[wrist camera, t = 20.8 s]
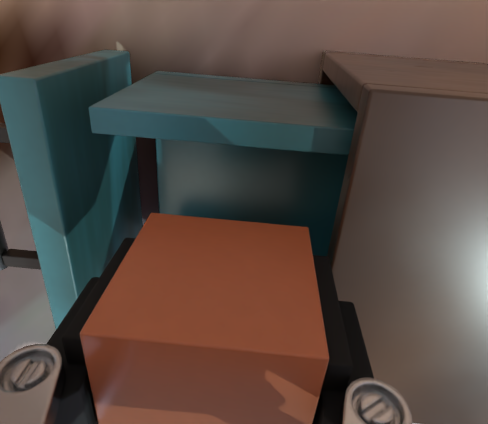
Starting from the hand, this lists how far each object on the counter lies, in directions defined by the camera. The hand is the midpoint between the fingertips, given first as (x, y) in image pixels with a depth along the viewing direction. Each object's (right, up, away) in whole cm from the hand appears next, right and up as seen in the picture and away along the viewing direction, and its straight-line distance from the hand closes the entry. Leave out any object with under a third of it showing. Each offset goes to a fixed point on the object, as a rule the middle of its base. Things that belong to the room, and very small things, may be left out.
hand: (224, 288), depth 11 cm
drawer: (-2, +4, +8) cm, 10 cm away
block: (0, 0, 0) cm, 0 cm away
